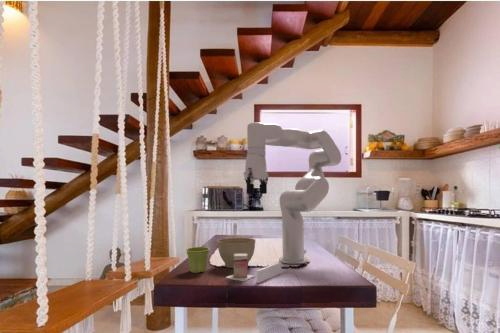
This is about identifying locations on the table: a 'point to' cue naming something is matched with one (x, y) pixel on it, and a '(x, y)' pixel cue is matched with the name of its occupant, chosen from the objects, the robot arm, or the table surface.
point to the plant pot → (197, 258)
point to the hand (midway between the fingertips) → (256, 193)
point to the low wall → (268, 272)
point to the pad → (240, 278)
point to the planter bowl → (235, 249)
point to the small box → (240, 266)
